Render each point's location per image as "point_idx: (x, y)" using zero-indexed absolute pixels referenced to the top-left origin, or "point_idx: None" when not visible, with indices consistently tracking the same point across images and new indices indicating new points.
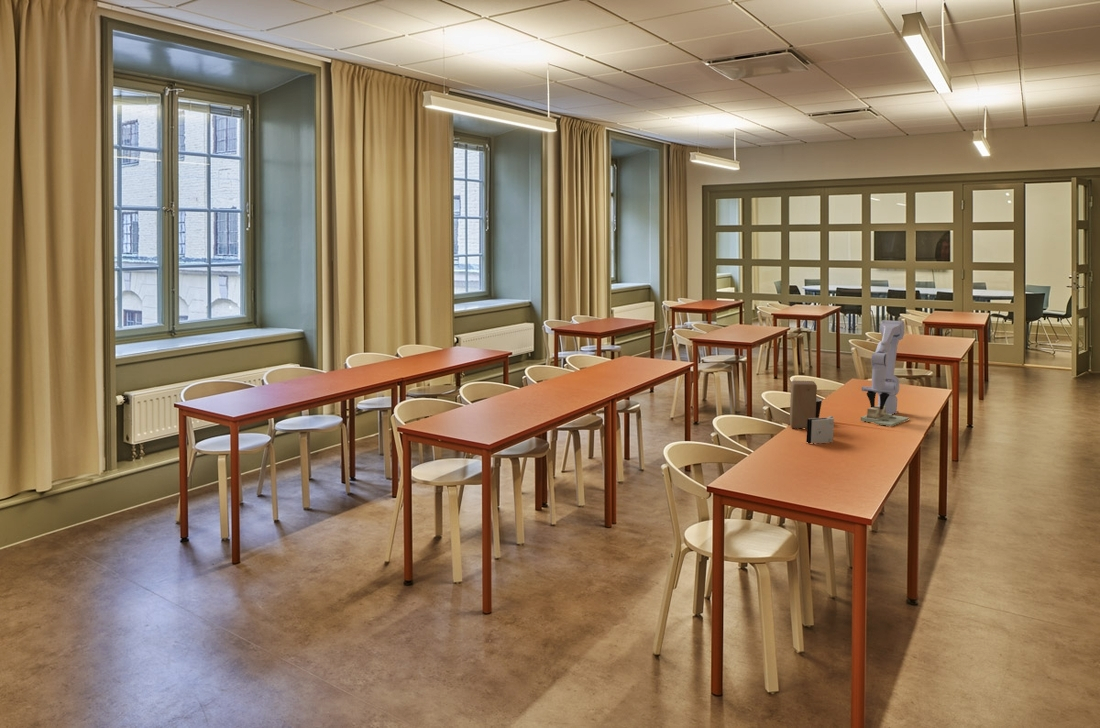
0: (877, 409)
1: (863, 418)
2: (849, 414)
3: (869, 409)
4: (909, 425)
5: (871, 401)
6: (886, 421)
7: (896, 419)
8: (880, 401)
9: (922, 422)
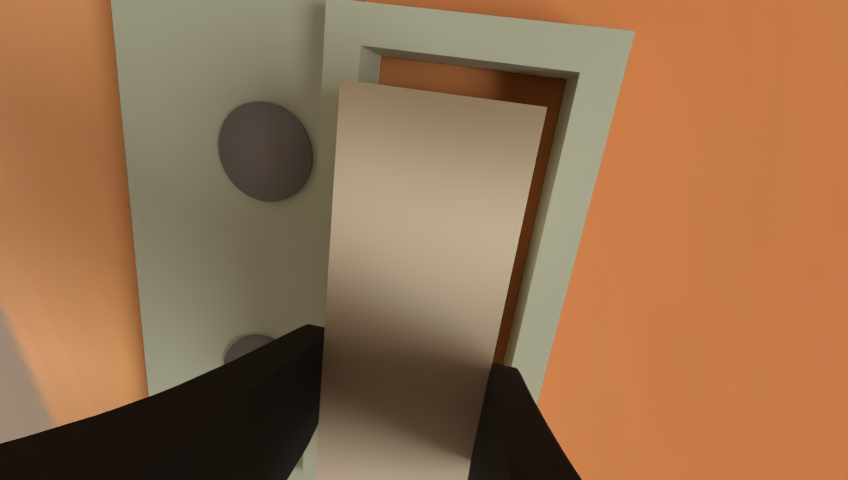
0: (336, 218)
1: (575, 27)
2: (843, 461)
3: (490, 100)
4: (55, 191)
5: (517, 465)
6: (233, 95)
7: (198, 303)
8: (204, 415)
9: (55, 398)
